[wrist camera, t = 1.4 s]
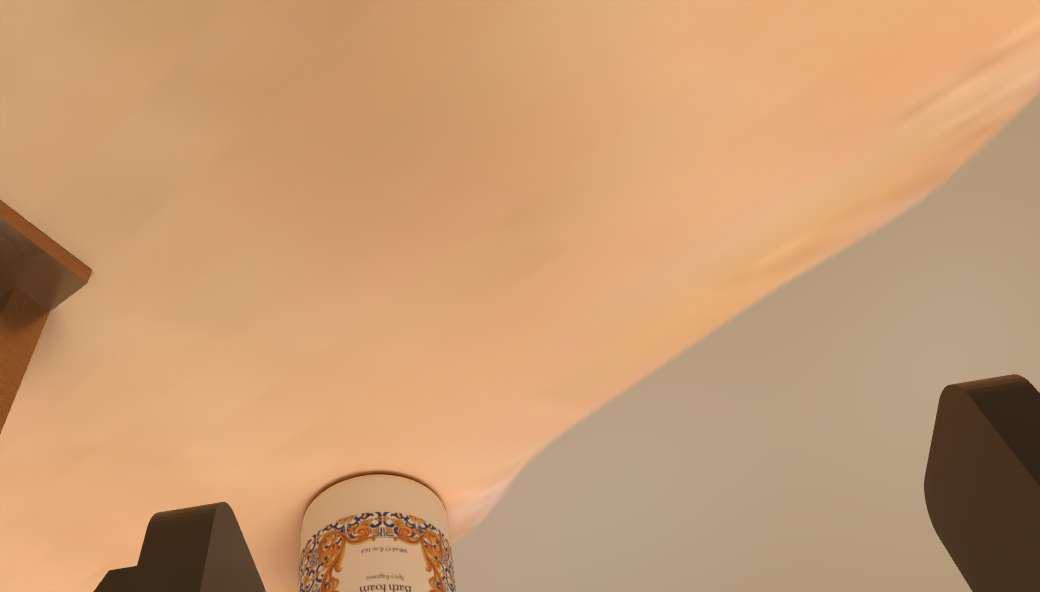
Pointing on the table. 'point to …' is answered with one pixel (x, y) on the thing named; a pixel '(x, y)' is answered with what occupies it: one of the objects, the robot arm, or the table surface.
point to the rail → (28, 295)
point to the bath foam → (376, 538)
